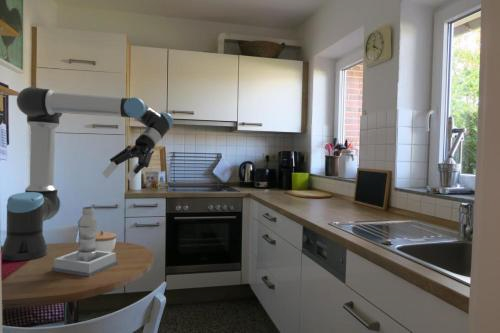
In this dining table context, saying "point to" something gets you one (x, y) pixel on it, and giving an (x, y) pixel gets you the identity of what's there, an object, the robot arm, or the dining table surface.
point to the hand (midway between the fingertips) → (116, 177)
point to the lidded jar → (105, 241)
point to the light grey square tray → (84, 263)
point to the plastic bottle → (87, 235)
